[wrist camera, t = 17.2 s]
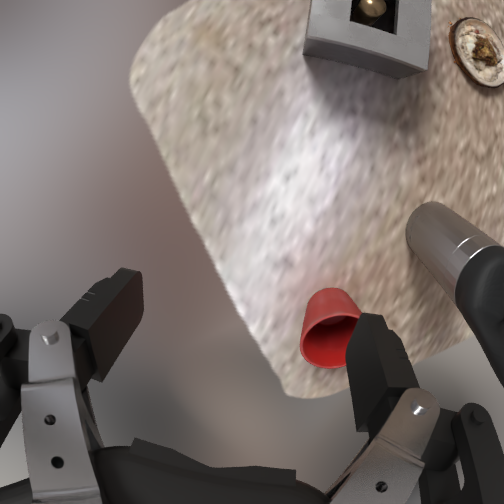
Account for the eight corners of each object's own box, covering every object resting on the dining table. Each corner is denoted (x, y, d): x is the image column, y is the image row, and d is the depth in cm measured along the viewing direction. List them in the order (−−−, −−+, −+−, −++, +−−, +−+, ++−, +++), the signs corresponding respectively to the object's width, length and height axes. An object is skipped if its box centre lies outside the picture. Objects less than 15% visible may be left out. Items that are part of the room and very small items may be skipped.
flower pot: (371, 308, 49) (385, 344, 40) (321, 340, 53) (325, 378, 44) (338, 266, 47) (348, 300, 38) (285, 304, 50) (284, 341, 42)
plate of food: (486, 12, 25) (499, 7, 21) (516, 90, 30) (530, 90, 26) (426, 14, 28) (437, 7, 24) (461, 101, 33) (475, 101, 30)
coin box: (405, 2, 28) (431, -21, 19) (398, 79, 34) (427, 70, 25) (313, -23, 28) (320, -55, 19) (302, 54, 34) (307, 34, 25)
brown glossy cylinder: (371, 26, 31) (391, 6, 22) (359, 37, 32) (376, 19, 24) (355, 12, 30) (371, -11, 22) (342, 24, 31) (356, 2, 23)
